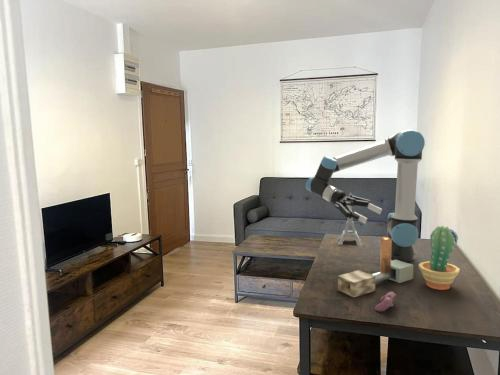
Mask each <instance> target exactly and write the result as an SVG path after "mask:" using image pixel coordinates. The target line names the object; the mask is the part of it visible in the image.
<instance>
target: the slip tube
mask: <svg viewBox="0 0 500 375" xmlns="http://www.w3.org/2000/svg"><path fill="white" fill-rule="evenodd" d="M391 249H392V238H389V237H387V236H383V237H380V253H379V254H380V255H379V271H378V272H374V273H369V274H370V275H373V276H375V283H379V282H382V281H385V280H389V278H392V277H395V276H396V270H395V269H391V261H392V260H391Z"/></svg>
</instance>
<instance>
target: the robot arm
mask: <svg viewBox="0 0 500 375" xmlns="http://www.w3.org/2000/svg"><path fill="white" fill-rule="evenodd" d="M425 142H426V141H425V137H424V135H423V134H422V133H421V132H420V131H418V130H416V129H414V128H413V129H411V128H410V129H405V130H404V129H403V130H401V131H399V132H397V133H395V134H393V135H391V136H388V137H385V138H384V140H382V141H379V142H376V143H373V144H371V145H370V144H369V145H367V146H365V147H362V148H358V149H355V150H352V151H349V152H346V153H343V154H340V155H337V156H335V157H334V156H333V157H330V156H327V155H324V156H323V157H322V159H321V160H320V164H319V165H318V168H317V170H316V173H315V175H314V176H310V177H309V178H308V180H307V181H306V182H305V190H306V191H308V192H310V193H312V194H313V195H315V196H317V197H319V198H320V199H323V200H325V201H326V202H329V203H331V204H332V205H334V207H335V208H336V209H338V211H340V213H341V214H342V215H343V216H344V217H345V218H347V219H348V217H349V218H350V219H351V218H353V219H355V220H357V221H359V222H360V223H363V224H364V225H366V224H367V221H368V217H366V216H364V215H362V214H361V213H358V212H356V211H353V208H352V209H351V208H350V206H352V207H354V206H359V207H365V208H367V209H368V210H370V211H372V212H375V213H376V214H378V215H381V213H382V211H383V208H381V207H379V206H377V205H375V204H373V203H371V202H372V200H371V199H367V198H363V197H360V196H357V195H354V194H352V195H350V194H349V195H350V197H349V195H348V196H347V195H346V192H345V191H343V190H341V189H338V188H337V187H335V186H333V185H331V184H330V181H331V178H332V176H333V175H334V173H337V172H340V171H343V170H346V169H349V168H352V167H356V166H359V165H362V164H366V163H369V162H372V161H375V160H377V159H381V158H384V157H387V156H390V157H394V160H395V161H396V162H397V170H396V171H397V172H396V187H395V203H394V204H395V205H394V206H395V207H394V212H390V213H388V215H387V231H386V237H389V238H392V249H391V261H392V260H399V261H402V262H406V263H408V262H412V261H414V260H415V252H414V247H413V245H415V244H416V242H417V241H418V239H419V235H420V233H419V230H418V221H419V220H418V219H419V218H418V217H417V216H416V214H415V212H416V211H415V210H416V209H415V208H416V197H417V196H416V194H417V184H418V183H417V181H418V180H417V179H418V164H419V163H420V161H422V160H423V150H424V148H425V146H426V144H425Z"/></svg>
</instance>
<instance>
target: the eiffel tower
mask: <svg viewBox="0 0 500 375" xmlns="http://www.w3.org/2000/svg"><path fill="white" fill-rule="evenodd" d="M350 195H353V194H352V192H351V191H350V192H349V194H348V197H350ZM350 208H351V209H352V210H353V206H350ZM353 219H354V218H353V217H352V218H351V219H350V218H349V217H348V218H347V221H346V225H345V228H344V230H342V233H341V234H340V236H339V237H338V238H337V240H338V242H337V245H338V246H340V245H341V246H343V245H344V244H343V242H344V241H345V240H346V239H348V238H352V239H353V240H355V242H356V246H358V247H359V246H363V245H362V244H363V243H362V242H361V241H362V239H361V238H360V236H359V235H358V232H357V230H356V228H355V225H354V222H355V221H354V220H353ZM350 226H351V230H349V227H350Z"/></svg>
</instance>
